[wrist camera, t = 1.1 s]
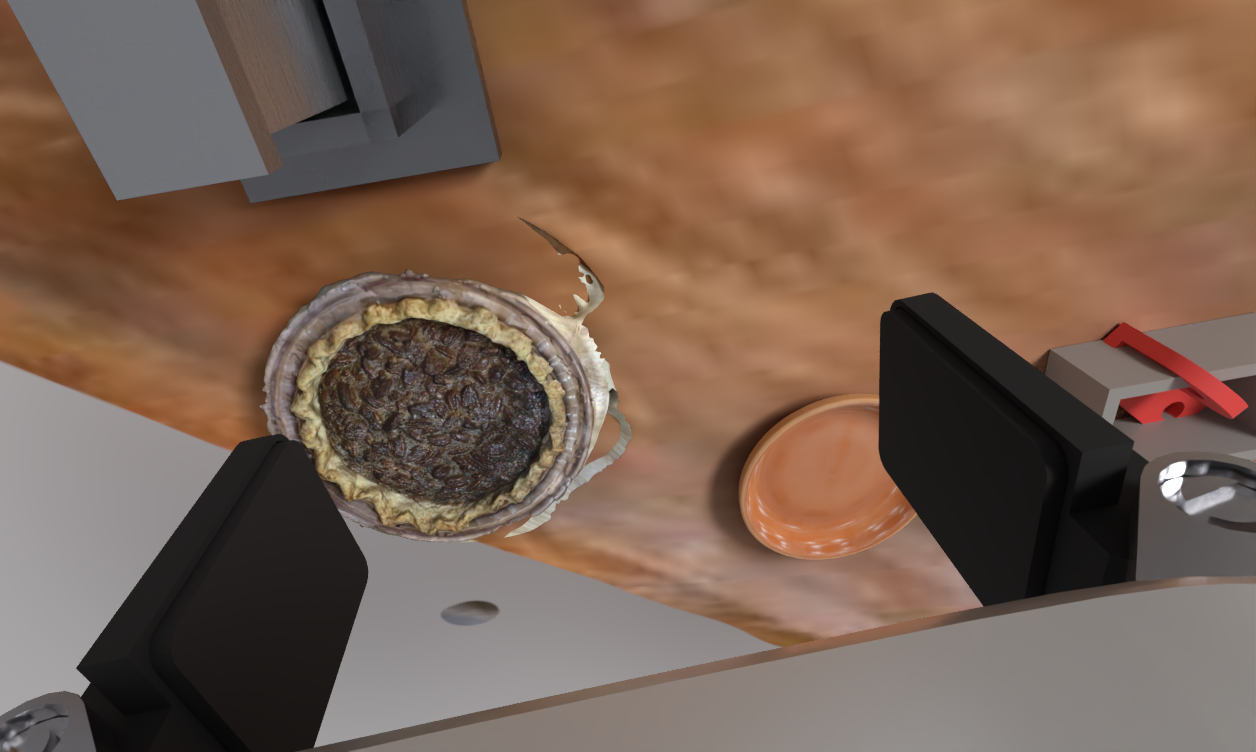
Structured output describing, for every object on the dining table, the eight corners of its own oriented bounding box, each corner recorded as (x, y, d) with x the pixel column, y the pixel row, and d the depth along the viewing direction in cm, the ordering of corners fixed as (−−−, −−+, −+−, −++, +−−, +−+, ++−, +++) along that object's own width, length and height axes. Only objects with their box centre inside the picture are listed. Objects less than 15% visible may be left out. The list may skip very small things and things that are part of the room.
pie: (452, 585, 55) (443, 634, 51) (144, 385, 43) (98, 426, 39) (710, 391, 48) (725, 428, 44) (425, 89, 36) (407, 98, 32)
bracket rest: (1050, 349, 49) (1109, 389, 43) (1254, 312, 49) (1338, 348, 44) (1029, 444, 53) (1081, 491, 48) (1216, 410, 53) (1288, 453, 48)
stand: (137, -101, 30) (-58, -153, 21) (430, -149, 31) (374, -222, 21) (264, 194, 37) (163, 258, 28) (501, 153, 38) (484, 203, 28)
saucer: (908, 523, 57) (925, 548, 54) (731, 548, 56) (739, 574, 53) (937, 366, 49) (959, 386, 46) (730, 392, 48) (741, 414, 45)
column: (245, -24, 31) (-46, -55, 16) (351, -41, 31) (162, -90, 16) (299, 118, 34) (99, 203, 19) (394, 101, 34) (272, 173, 19)
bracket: (1073, 366, 49) (1156, 425, 43) (1123, 322, 48) (1218, 376, 41) (1151, 432, 54) (1238, 495, 47) (1200, 393, 52) (1297, 453, 45)
